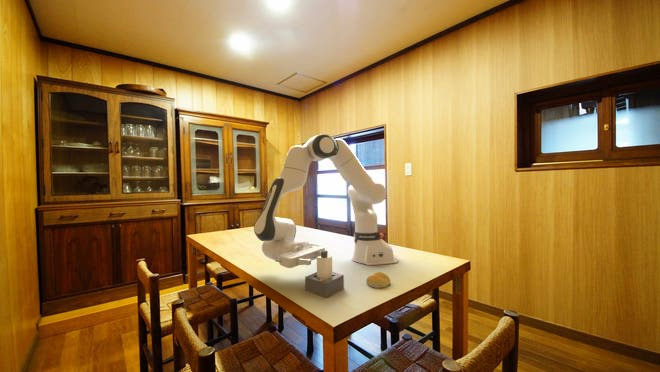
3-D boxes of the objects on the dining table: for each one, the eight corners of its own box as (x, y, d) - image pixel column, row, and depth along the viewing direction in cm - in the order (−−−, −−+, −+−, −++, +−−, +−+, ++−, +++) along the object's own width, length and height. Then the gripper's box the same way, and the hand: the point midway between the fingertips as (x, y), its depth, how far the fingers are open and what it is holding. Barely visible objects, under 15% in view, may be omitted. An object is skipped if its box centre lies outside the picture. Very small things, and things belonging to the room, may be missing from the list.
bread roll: (362, 285, 101) (362, 274, 101) (376, 278, 107) (376, 268, 107) (381, 291, 95) (380, 280, 95) (394, 283, 101) (394, 273, 101)
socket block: (323, 282, 104) (322, 268, 103) (343, 288, 97) (343, 274, 97) (305, 290, 96) (305, 276, 96) (326, 298, 90) (326, 282, 89)
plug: (324, 283, 99) (323, 249, 99) (332, 286, 97) (331, 251, 97) (317, 287, 96) (316, 251, 96) (325, 289, 94) (325, 253, 94)
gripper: (272, 251, 98) (298, 257, 90) (309, 240, 114) (334, 245, 106) (272, 268, 99) (298, 276, 90) (309, 255, 115) (334, 261, 106)
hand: (318, 259), depth 98 cm, fingers open, 8 cm apart
